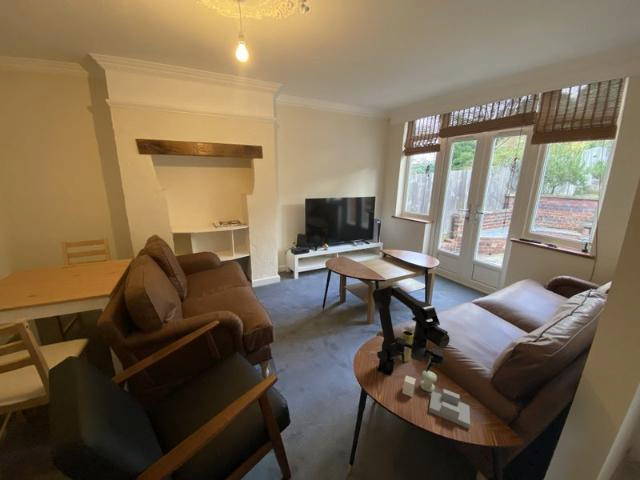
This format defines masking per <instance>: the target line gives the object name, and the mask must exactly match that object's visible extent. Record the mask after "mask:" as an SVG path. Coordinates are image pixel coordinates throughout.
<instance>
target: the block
mask: <svg viewBox="0 0 640 480" xmlns="http://www.w3.org/2000/svg"><path fill="white" fill-rule="evenodd" d="M416 380H417V379H416V378H414V377H413V376H409V375H408V374H407V375H405V378H404V382H403V388H402V391H401V393H402V394H404V395H407V396H408V397H411V398H413V395H414V389H415V384H416Z"/></svg>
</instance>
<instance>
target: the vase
mask: <svg viewBox="0 0 640 480" xmlns="http://www.w3.org/2000/svg"><path fill="white" fill-rule="evenodd" d="M413 335H414V332H412V331H409V330H402V333H401V338H402V339H406V342H405V343H408V344H411V345H412V340H413ZM411 353H412V350H410V349H407V348H405V361H404V363H407V362H410V360H411ZM397 359H398V360H400V361H401V362H402V356H401V355H400V356H399V357H398V358H397Z"/></svg>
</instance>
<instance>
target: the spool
mask: <svg viewBox="0 0 640 480" xmlns="http://www.w3.org/2000/svg"><path fill="white" fill-rule="evenodd" d="M421 376H422V378H423V380H421V381H420V384H419V385H420V386H419V387H420V388H421V389H422V390H423V391H426V392H428V393H432V391H434V392H435V391H436V386H435V385H434V383H436V381H437V379H438V376H437V374H435V373H434V372H432V371H430V370H428V371H427V372H426V370H423V371H422V373H421Z"/></svg>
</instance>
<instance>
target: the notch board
mask: <svg viewBox="0 0 640 480" xmlns="http://www.w3.org/2000/svg"><path fill="white" fill-rule="evenodd" d="M430 393H431V394H430V401H429V402H430V403H429V407H428V408H429V409H428V412H429V413H431V414H434V415H435V416H438V417H441V418H443V419H445V420H447V421H450V422H453V423H454V424H457V425H459V426H462V427H464V428H466V429H468V430H469V429H470V425H471V416H470V415H471V414H470V405H469V404H466V403H464V402H462V401H460V399H461V398H460V394H458V393H455V392H453V391H450V390H449V389H444V388H443V389H442V393H439V392H436V391H435V390H434V391H432V392H430Z"/></svg>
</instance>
